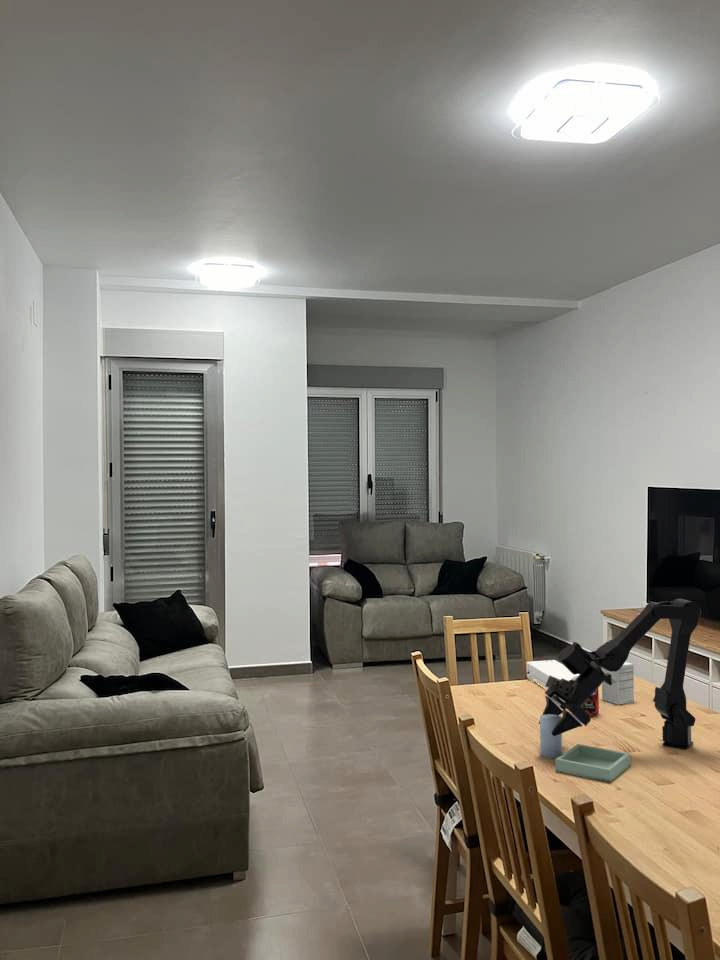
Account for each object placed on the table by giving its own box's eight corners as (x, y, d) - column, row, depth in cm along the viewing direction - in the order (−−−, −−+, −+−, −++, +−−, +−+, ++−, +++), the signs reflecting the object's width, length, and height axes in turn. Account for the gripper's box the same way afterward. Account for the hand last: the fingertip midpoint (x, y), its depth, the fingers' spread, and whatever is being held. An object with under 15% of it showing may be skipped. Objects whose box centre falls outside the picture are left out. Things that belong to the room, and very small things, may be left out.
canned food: (570, 716, 256) (569, 680, 256) (576, 709, 263) (575, 674, 263) (595, 719, 253) (595, 682, 253) (601, 711, 260) (600, 676, 260)
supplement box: (601, 700, 273) (600, 661, 273) (619, 697, 276) (618, 658, 276) (617, 705, 266) (616, 665, 266) (635, 702, 269) (634, 663, 269)
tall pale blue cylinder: (565, 753, 223) (564, 716, 223) (556, 759, 218) (555, 721, 218) (546, 750, 226) (545, 713, 226) (537, 755, 222) (536, 718, 222)
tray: (630, 765, 213) (630, 753, 213) (609, 782, 202) (609, 770, 202) (578, 755, 221) (577, 743, 221) (555, 771, 210) (555, 759, 210)
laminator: (596, 701, 273) (596, 682, 273) (561, 703, 271) (560, 684, 271) (555, 676, 307) (555, 659, 307) (523, 678, 305) (523, 661, 305)
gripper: (551, 658, 232) (513, 700, 230) (578, 673, 213) (537, 719, 212) (578, 684, 233) (541, 726, 231) (608, 702, 214) (567, 748, 213)
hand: (546, 729), depth 222 cm, fingers open, 9 cm apart
